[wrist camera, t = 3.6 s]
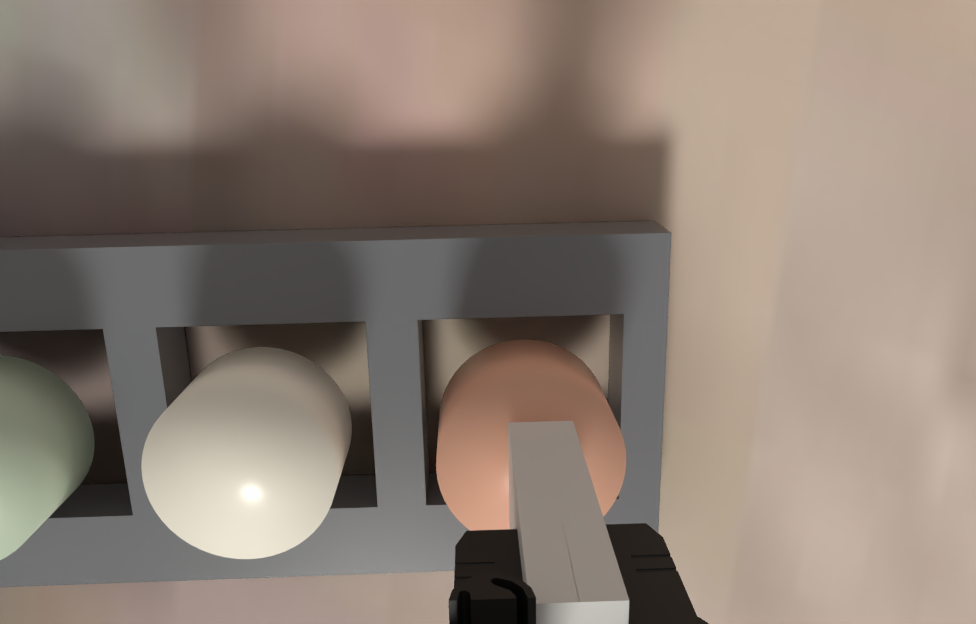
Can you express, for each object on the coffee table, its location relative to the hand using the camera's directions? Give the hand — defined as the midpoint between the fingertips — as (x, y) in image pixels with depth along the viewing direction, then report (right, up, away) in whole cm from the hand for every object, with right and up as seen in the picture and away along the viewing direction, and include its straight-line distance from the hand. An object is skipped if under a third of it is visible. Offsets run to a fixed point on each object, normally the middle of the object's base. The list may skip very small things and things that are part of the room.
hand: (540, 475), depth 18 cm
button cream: (-7, +1, +3) cm, 8 cm away
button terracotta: (0, +1, +3) cm, 4 cm away
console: (-7, +1, +6) cm, 9 cm away
